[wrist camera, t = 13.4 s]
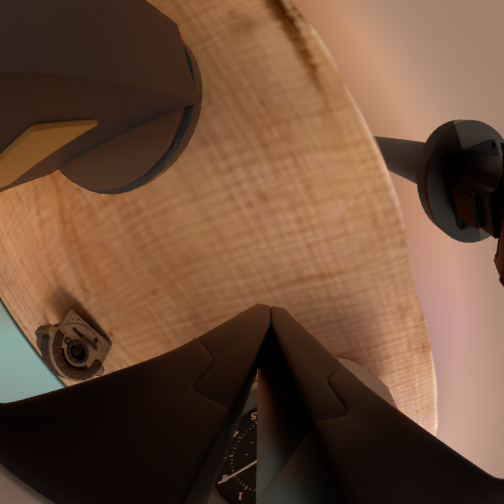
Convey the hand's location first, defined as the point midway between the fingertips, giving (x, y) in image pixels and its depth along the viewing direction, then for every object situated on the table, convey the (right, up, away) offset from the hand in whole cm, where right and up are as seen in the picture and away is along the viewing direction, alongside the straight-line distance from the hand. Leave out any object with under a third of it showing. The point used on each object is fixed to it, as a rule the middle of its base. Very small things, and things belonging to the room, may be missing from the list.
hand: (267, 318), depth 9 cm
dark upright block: (-11, +13, +8) cm, 19 cm away
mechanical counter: (-22, -8, +21) cm, 31 cm away
